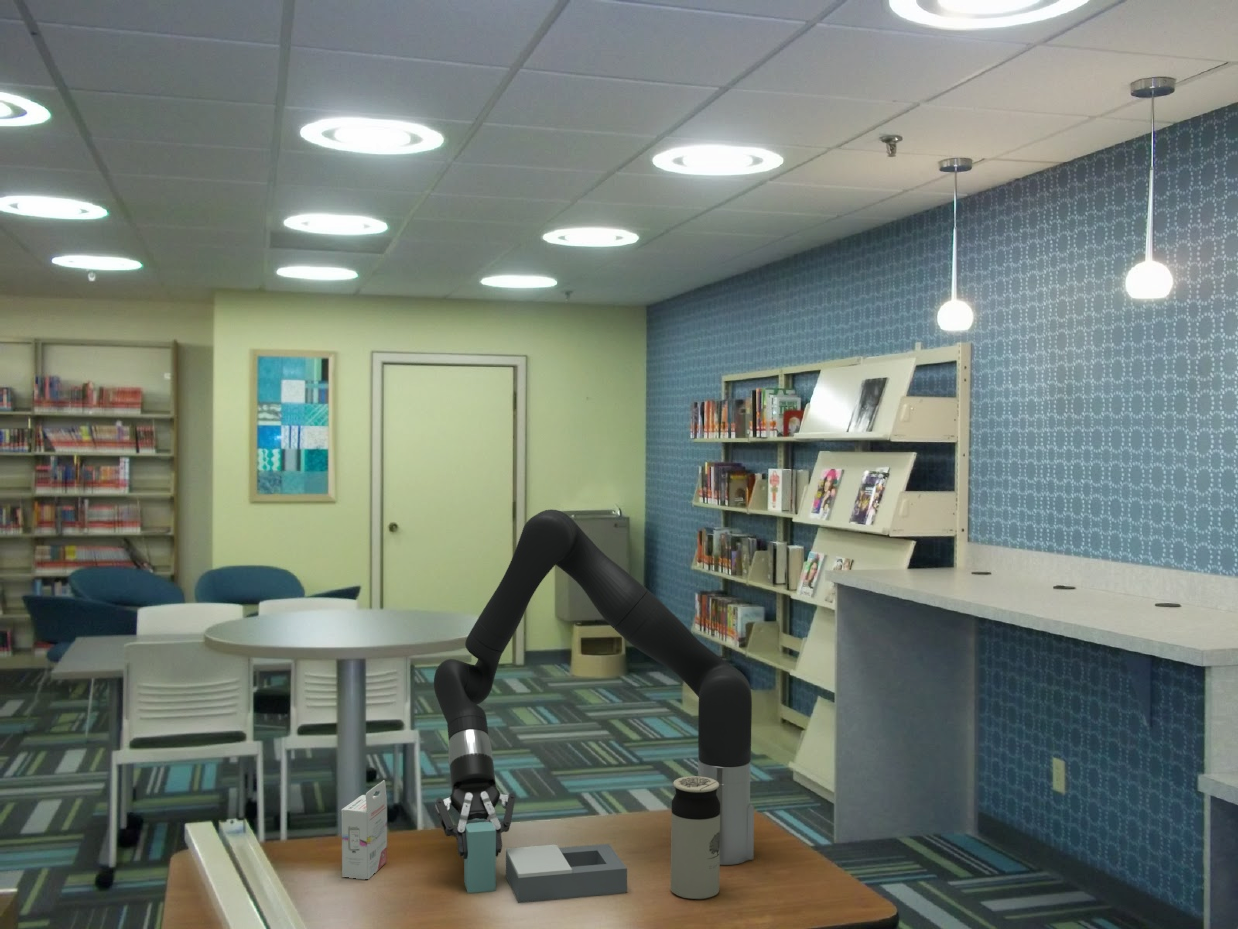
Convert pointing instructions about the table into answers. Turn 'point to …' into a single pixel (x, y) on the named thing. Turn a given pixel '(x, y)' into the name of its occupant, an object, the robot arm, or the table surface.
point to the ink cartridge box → (365, 834)
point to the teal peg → (480, 857)
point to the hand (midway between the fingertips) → (481, 855)
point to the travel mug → (695, 838)
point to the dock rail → (564, 872)
